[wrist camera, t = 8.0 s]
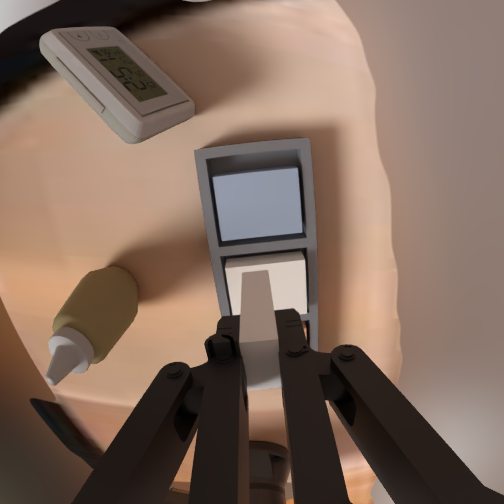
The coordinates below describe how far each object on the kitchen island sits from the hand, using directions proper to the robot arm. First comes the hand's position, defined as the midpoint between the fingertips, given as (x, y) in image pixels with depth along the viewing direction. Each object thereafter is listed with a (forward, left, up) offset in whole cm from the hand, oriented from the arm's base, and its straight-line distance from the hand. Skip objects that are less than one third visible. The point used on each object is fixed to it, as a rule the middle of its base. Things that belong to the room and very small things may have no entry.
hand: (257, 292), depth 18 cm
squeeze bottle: (-7, +18, -17) cm, 26 cm away
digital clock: (+17, +11, -17) cm, 27 cm away
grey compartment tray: (-7, -1, -17) cm, 18 cm away
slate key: (+2, -1, -16) cm, 16 cm away
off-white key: (-7, -1, -15) cm, 16 cm away
